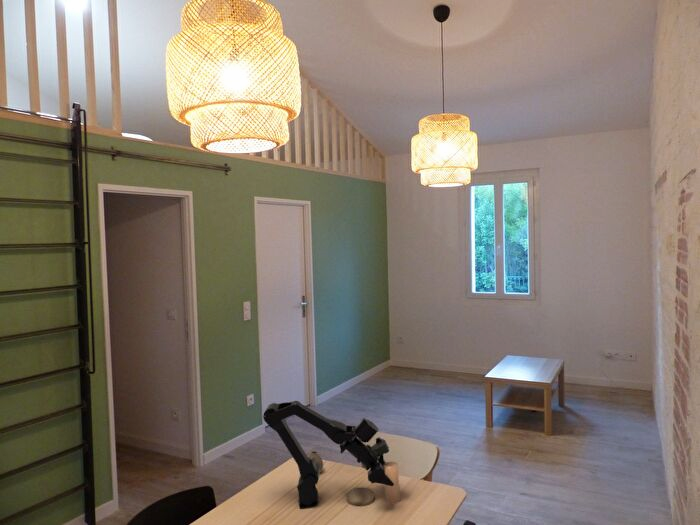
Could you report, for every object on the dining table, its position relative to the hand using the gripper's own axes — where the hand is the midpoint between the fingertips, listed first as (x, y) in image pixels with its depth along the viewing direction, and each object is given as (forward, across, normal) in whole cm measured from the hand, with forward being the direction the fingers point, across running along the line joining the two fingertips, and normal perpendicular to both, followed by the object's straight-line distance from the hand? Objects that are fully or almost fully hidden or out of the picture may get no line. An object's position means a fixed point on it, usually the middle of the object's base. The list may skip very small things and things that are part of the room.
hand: (392, 479), depth 188 cm
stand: (-3, +1, +14) cm, 14 cm away
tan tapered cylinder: (+5, 0, +6) cm, 8 cm away
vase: (-16, +25, +27) cm, 40 cm away
